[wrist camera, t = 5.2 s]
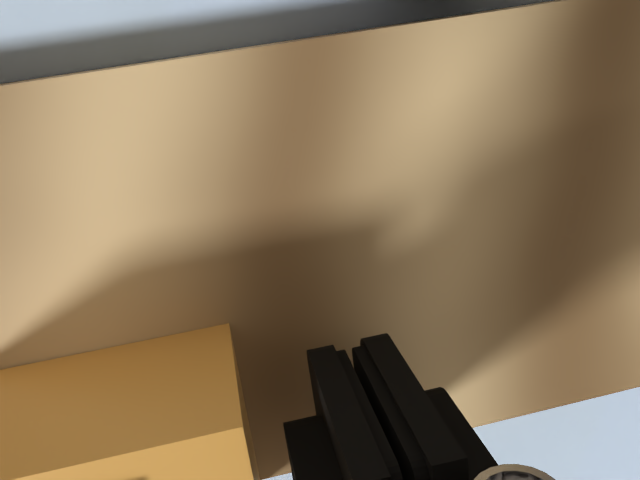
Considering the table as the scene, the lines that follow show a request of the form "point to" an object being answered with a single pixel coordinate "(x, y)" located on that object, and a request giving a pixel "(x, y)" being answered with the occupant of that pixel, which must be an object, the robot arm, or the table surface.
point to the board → (344, 208)
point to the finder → (129, 413)
